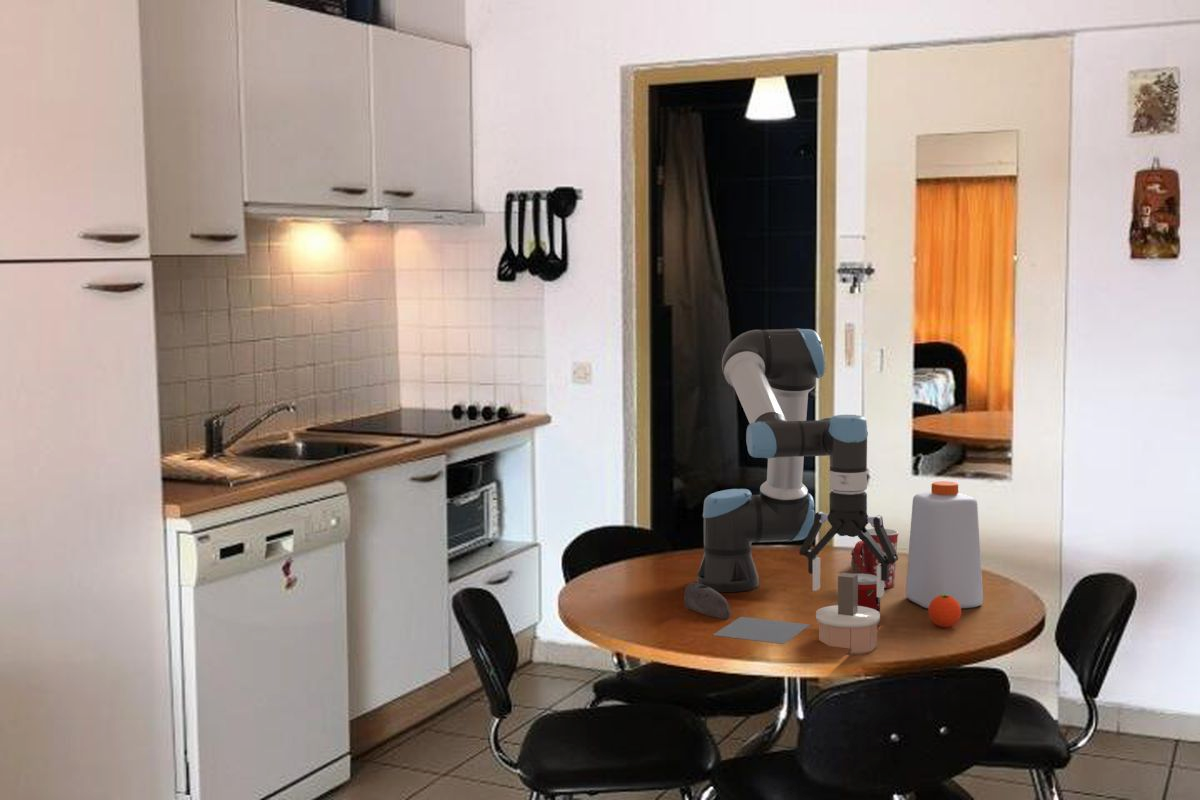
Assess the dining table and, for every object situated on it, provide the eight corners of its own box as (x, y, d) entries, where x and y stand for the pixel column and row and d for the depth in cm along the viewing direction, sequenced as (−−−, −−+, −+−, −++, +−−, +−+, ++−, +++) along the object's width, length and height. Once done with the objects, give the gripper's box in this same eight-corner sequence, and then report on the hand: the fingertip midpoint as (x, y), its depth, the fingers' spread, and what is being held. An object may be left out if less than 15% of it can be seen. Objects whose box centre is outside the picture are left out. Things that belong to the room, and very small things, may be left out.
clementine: (924, 621, 303) (924, 589, 302) (956, 620, 303) (956, 589, 302) (931, 631, 295) (932, 598, 294) (964, 630, 295) (964, 598, 294)
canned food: (872, 633, 294) (872, 583, 293) (837, 628, 298) (837, 579, 297) (885, 625, 300) (885, 575, 299) (851, 620, 305) (851, 571, 303)
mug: (879, 579, 342) (879, 526, 340) (906, 586, 334) (906, 531, 333) (841, 586, 335) (841, 532, 334) (868, 594, 327) (868, 538, 326)
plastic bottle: (928, 612, 310) (929, 490, 307) (899, 596, 324) (900, 479, 321) (989, 607, 313) (991, 486, 310) (957, 592, 328) (959, 476, 325)
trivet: (712, 641, 290) (712, 634, 290) (741, 623, 304) (741, 616, 304) (784, 650, 282) (784, 643, 282) (810, 631, 296) (810, 624, 296)
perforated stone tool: (738, 624, 303) (737, 593, 302) (718, 628, 301) (717, 596, 300) (701, 609, 316) (701, 580, 316) (681, 612, 314) (681, 583, 313)
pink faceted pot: (813, 650, 282) (813, 622, 281) (830, 637, 292) (830, 609, 291) (866, 657, 277) (866, 628, 276) (881, 643, 287) (881, 615, 286)
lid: (807, 623, 281) (807, 579, 280) (827, 608, 292) (827, 565, 291) (869, 630, 275) (869, 585, 274) (887, 614, 286) (887, 571, 285)
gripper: (784, 489, 283) (784, 590, 286) (903, 498, 272) (902, 602, 274) (796, 484, 290) (796, 582, 292) (913, 491, 278) (912, 594, 281)
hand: (848, 592), depth 283 cm, fingers open, 13 cm apart
